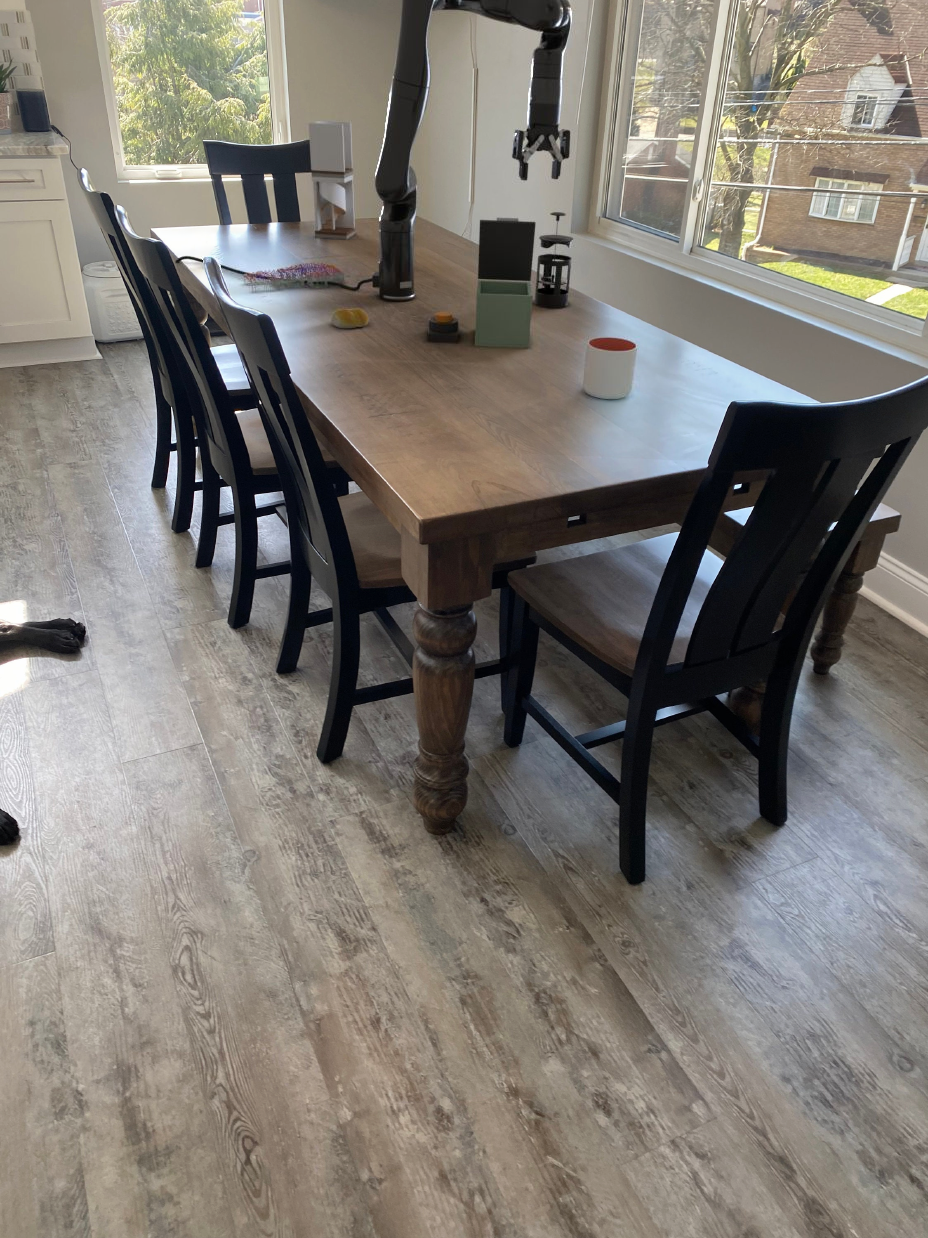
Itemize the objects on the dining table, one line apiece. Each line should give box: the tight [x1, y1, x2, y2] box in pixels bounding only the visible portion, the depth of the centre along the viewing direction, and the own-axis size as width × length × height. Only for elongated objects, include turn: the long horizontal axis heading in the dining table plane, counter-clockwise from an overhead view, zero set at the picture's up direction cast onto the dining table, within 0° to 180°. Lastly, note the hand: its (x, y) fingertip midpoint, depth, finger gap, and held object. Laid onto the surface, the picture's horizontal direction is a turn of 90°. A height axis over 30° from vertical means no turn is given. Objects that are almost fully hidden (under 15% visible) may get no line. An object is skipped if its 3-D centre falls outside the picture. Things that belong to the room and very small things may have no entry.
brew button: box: [434, 311, 453, 322], centre depth 211 cm, size 4×4×2 cm
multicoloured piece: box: [243, 262, 351, 293], centre depth 251 cm, size 30×15×5 cm, turn 115°
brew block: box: [427, 315, 460, 344], centre depth 212 cm, size 10×7×4 cm
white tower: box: [308, 120, 356, 240], centre depth 305 cm, size 11×11×35 cm
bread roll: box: [330, 307, 370, 329], centre depth 219 cm, size 8×9×4 cm
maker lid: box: [477, 217, 537, 282], centre depth 208 cm, size 14×13×5 cm
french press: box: [533, 211, 574, 309], centre depth 237 cm, size 12×9×23 cm
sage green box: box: [474, 279, 533, 349], centre depth 210 cm, size 14×13×12 cm
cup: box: [582, 336, 638, 400], centre depth 180 cm, size 10×10×10 cm
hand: (539, 179), depth 212 cm, fingers open, 8 cm apart
